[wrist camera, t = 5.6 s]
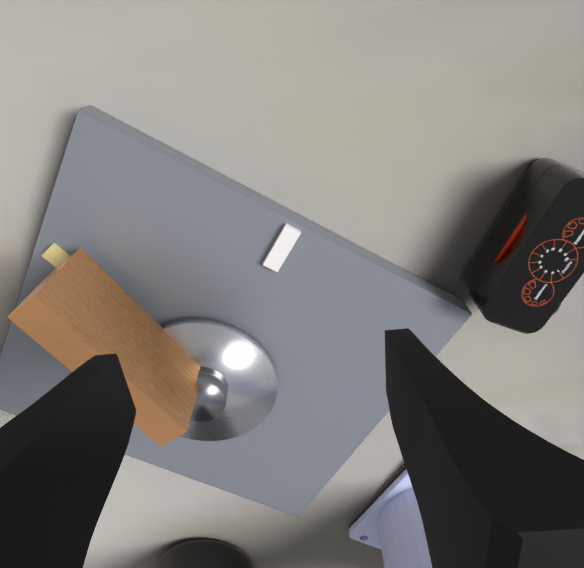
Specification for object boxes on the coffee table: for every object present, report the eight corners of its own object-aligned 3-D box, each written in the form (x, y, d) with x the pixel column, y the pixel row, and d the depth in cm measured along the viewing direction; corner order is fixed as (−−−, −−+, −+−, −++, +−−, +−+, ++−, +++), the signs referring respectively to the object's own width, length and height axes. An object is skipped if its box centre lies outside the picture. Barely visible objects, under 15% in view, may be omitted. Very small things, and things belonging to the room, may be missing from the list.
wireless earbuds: (444, 293, 23) (466, 332, 20) (532, 150, 19) (573, 171, 17) (529, 323, 23) (561, 365, 20) (626, 189, 20) (681, 216, 17)
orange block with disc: (306, 393, 23) (308, 464, 19) (197, 452, 25) (180, 528, 21) (133, 205, 19) (93, 250, 15) (17, 296, 21) (-44, 356, 17)
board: (463, 300, 22) (473, 317, 21) (297, 499, 29) (298, 521, 28) (90, 105, 18) (75, 111, 17) (-3, 387, 25) (-19, 408, 24)
